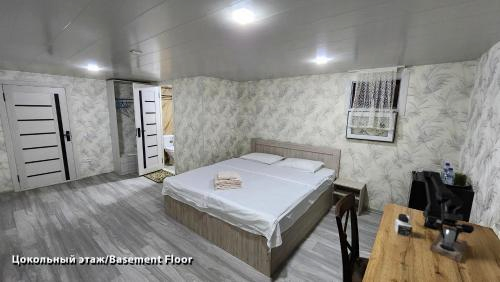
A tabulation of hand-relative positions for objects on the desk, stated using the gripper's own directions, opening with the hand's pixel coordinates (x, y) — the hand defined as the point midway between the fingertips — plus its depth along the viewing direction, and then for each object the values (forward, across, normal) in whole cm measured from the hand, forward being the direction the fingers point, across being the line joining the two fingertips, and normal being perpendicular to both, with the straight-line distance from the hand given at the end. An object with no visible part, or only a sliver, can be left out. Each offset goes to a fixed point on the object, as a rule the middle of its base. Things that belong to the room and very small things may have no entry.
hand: (449, 239), depth 112 cm
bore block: (+1, +2, +10) cm, 11 cm away
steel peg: (+4, 0, +5) cm, 7 cm away
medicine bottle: (-1, -20, +12) cm, 23 cm away
